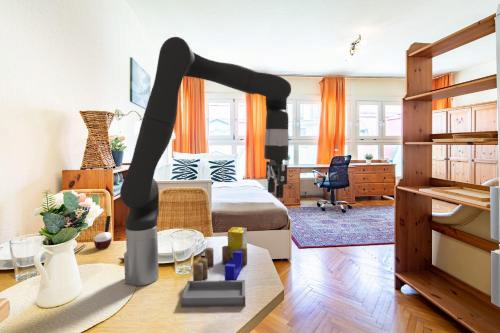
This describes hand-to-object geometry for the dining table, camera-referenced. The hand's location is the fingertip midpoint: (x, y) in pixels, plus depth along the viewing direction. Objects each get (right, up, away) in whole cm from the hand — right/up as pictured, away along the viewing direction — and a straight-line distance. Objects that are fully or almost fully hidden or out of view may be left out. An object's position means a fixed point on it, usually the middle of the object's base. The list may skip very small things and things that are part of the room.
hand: (275, 195), depth 87 cm
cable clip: (-14, -27, +3) cm, 31 cm away
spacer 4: (-17, -26, +12) cm, 33 cm away
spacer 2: (-23, -27, +1) cm, 36 cm away
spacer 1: (-24, -27, -2) cm, 36 cm away
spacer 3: (-22, -26, +10) cm, 36 cm away
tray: (-18, -28, -10) cm, 35 cm away
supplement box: (-13, -26, +17) cm, 33 cm away
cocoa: (-69, -25, +27) cm, 78 cm away
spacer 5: (-11, -26, +11) cm, 30 cm away
